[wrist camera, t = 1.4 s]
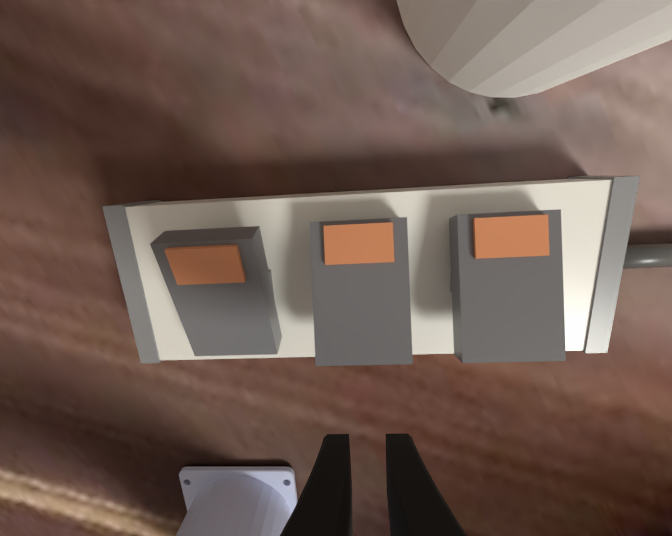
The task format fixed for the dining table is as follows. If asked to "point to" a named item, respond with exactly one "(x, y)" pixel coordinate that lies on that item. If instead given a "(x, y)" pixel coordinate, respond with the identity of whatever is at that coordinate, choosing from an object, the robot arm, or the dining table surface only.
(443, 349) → the power strip
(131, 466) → the dining table surface
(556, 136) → the dining table surface
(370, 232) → the rocker
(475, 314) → the block
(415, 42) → the bottle
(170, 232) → the rocker
